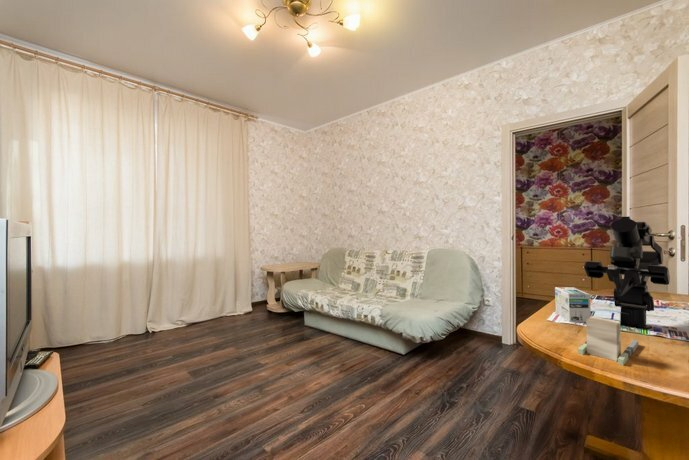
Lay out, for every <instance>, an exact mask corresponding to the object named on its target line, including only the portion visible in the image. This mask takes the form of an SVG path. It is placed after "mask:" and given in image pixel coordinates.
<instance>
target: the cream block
mask: <svg viewBox="0 0 689 460" xmlns="http://www.w3.org/2000/svg"><path fill="white" fill-rule="evenodd" d="M585 323H586V341H587V351H586V353H587V355H591V356H595V357H600V358H603V359H607V360H611V361H615V362H618V358H619V357H620V355H621V354H622V352H621V351H622V350H621V349H622V348H621V347H622V346H621V345H622V343H621V342H622V341H621V339H622V338H621V334H622V333H621V325H620V320H614V319H613V320H612V319H608V318H602V317H597V316H591V317H590V318H588V319H587V320H586V322H585Z"/></svg>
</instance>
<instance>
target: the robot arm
mask: <svg viewBox="0 0 689 460" xmlns="http://www.w3.org/2000/svg"><path fill="white" fill-rule="evenodd" d="M610 228H611V231H612V235H613V237H614V240H615V243H617V245H616V246H610V251H609V259H610V264H608V265H607V266H603V265H602V261H594V260H593V261H592V260H587V261H585V262H584V265H583V268H584V272H585V273H586V277H588V278H593V279H601V278H604V275H605V274H606V275H607V277H608V281H610V282H613V283H614V286H615V287H614V289H613V301H614V307H619V308H620V312H619V313H620V314H619V318H620V320H619V322H620V327H621V326H622V327H627V328H628V327H629V328H631V329H632V328H634V329H637V330H648V329H653V327H652V325H649V324H647V312H650V311H651V312H652V311H653V312H654V311H655V303H654V297H653V296H652V295H651V291H649V287H648V285H647V284H648V281H649V279H650V282H651V283H653V284H654V285H663V286H664V285H665V286H667V285H670V282H671V276H670V270H669V268H668V266H666V265H664V253H663V248H662V247H661V245H659V244H658V243H657V242H656V240H655V235H652V231H653V230H652V228H651V226H650V225H649V224H647V222H646V221H635V220H634V219H631V216H621V218H620V219H617V220H615V221H613V222H612V223H611V225H610ZM643 246H645V247H647V246H648V247H650V248H651V249H652V250H653V251H651V250H650V251H649V250H644V249H643ZM621 276H623V278H622V277H621Z"/></svg>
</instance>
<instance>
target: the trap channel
mask: <svg viewBox="0 0 689 460" xmlns="http://www.w3.org/2000/svg"><path fill="white" fill-rule="evenodd" d="M638 347H639V340H638V339H632V340H631V342H630V343H629V344H628V346H627V347H626V348H625V349H624V351H623V352H621V355H620V357H619V358H618V360H617V365H619V366H624V365H625V364H626V363H627V361H628V360H629V359H630V357H631V356H632V355H633V353H634V352H635V351H636V349H637V348H638ZM585 353H587V340H586V341H585V342H584V343H583V344H581V345H580V346H579V347H578V348H577V354H578V355H582V356H583V355H584V354H585Z"/></svg>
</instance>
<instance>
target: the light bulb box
mask: <svg viewBox="0 0 689 460" xmlns="http://www.w3.org/2000/svg"><path fill="white" fill-rule="evenodd" d="M554 298H555V300H554V301H555V315H557V316H560V317H561V318H563V319H564V320H566V321H567V322H569V323H586V320H587V319H588V318H590V317H591V315H592V311H591V293H588V292H586V291H584V290H580V289H578V288H576V287H574V286H573V287H566V286H565V287H561V286H558V287H557V286H555V287H554Z"/></svg>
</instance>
